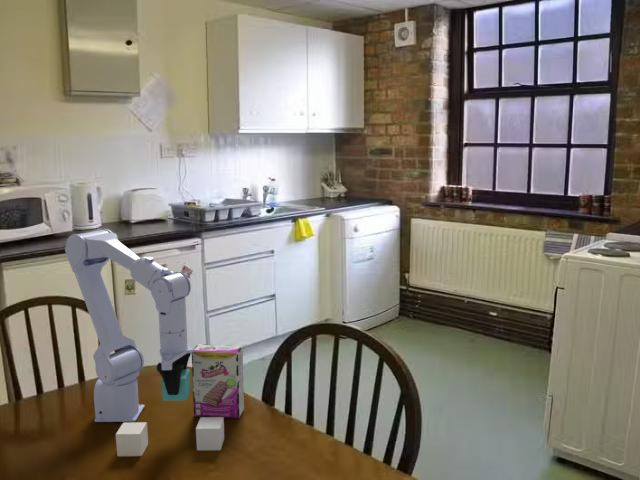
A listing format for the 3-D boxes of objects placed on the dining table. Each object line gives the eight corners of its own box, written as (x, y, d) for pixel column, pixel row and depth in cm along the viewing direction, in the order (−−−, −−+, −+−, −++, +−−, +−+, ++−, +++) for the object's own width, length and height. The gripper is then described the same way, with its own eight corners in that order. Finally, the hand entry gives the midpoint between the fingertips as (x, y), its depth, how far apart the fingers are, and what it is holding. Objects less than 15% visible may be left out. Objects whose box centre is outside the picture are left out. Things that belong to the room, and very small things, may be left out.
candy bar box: (193, 417, 140) (190, 351, 137) (199, 408, 145) (196, 343, 142) (240, 419, 139) (238, 352, 136) (245, 409, 144) (243, 344, 141)
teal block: (162, 400, 129) (161, 378, 128) (168, 390, 134) (167, 369, 133) (186, 400, 129) (185, 378, 128) (190, 390, 134) (189, 369, 133)
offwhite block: (117, 456, 124) (115, 434, 123) (124, 444, 129) (123, 422, 128) (141, 456, 124) (140, 433, 123) (148, 443, 129) (146, 422, 128)
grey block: (196, 450, 126) (195, 428, 125) (201, 438, 131) (200, 417, 130) (220, 450, 126) (219, 428, 125) (224, 438, 131) (223, 417, 130)
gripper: (184, 340, 122) (187, 403, 124) (198, 318, 136) (200, 375, 138) (149, 341, 122) (153, 403, 124) (167, 318, 136) (170, 375, 138)
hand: (176, 388), depth 131 cm, fingers closed on teal block, 5 cm apart
